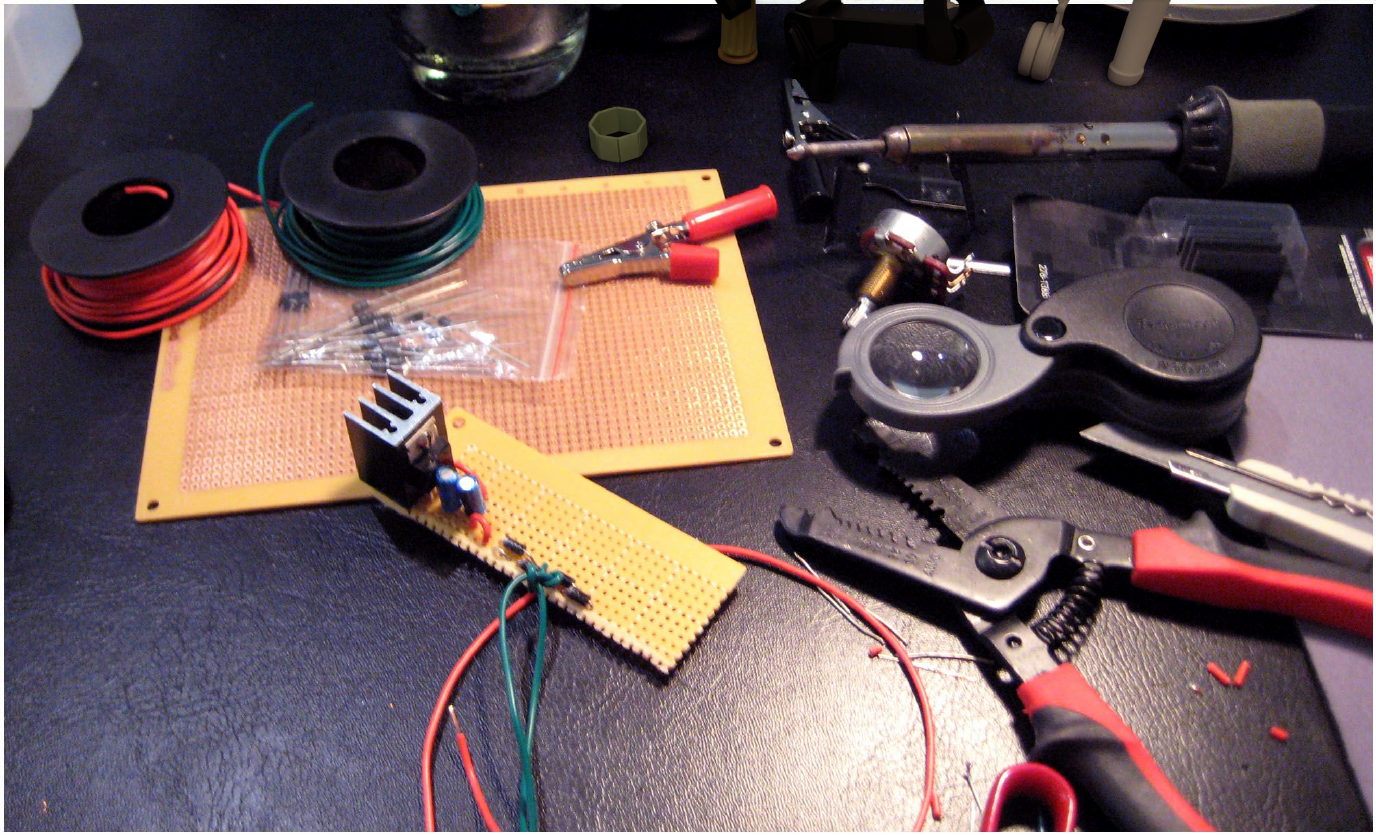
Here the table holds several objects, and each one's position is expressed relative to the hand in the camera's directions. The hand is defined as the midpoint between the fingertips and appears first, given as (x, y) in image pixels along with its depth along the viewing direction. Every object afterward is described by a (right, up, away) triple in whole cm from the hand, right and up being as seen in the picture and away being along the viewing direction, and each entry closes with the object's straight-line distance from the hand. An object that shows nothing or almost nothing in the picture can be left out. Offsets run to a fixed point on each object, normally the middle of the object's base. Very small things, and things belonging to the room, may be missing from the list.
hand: (732, 3), depth 149 cm
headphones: (+42, -9, +2) cm, 43 cm away
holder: (-18, -26, -10) cm, 33 cm away
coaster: (+1, -6, +6) cm, 8 cm away
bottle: (+62, -13, -2) cm, 63 cm away
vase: (+1, -5, +5) cm, 7 cm away
